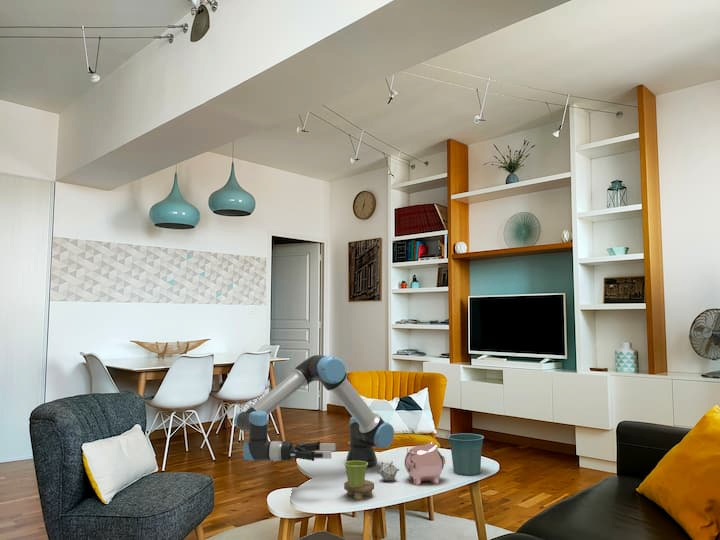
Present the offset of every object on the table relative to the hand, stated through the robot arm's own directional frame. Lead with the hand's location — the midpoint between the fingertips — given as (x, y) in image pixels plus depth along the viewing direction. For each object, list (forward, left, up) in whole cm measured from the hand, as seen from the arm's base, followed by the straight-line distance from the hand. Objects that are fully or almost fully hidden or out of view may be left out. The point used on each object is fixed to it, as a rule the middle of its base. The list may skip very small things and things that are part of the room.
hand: (333, 450), depth 223 cm
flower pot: (-36, +57, -17) cm, 70 cm away
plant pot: (+5, +10, -12) cm, 17 cm away
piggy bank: (-21, +38, -17) cm, 46 cm away
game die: (-20, +22, -17) cm, 34 cm away
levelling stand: (+2, +11, -17) cm, 20 cm away
